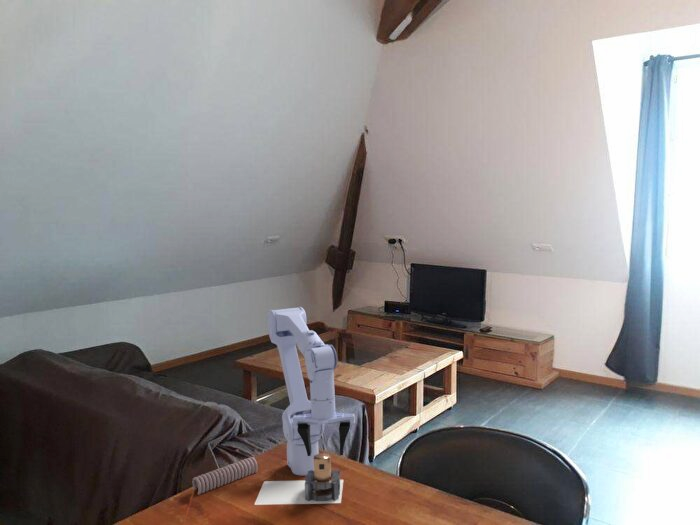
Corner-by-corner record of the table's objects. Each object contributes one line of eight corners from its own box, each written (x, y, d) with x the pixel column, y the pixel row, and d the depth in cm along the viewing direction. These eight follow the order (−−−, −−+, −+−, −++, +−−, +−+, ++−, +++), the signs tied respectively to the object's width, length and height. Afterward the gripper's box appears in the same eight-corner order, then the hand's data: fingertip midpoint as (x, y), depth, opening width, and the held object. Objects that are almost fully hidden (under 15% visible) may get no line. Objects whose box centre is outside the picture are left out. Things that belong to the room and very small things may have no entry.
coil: (198, 483, 135) (261, 459, 147) (188, 475, 138) (251, 453, 151) (198, 501, 136) (260, 476, 148) (189, 493, 139) (251, 469, 151)
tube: (315, 489, 136) (314, 453, 135) (332, 489, 135) (330, 452, 135) (314, 498, 131) (312, 460, 131) (331, 497, 131) (330, 460, 131)
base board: (254, 508, 130) (254, 504, 129) (264, 485, 142) (264, 481, 141) (341, 507, 129) (340, 502, 129) (343, 483, 141) (343, 479, 141)
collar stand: (304, 501, 130) (303, 484, 130) (308, 485, 138) (307, 469, 138) (338, 500, 130) (338, 484, 129) (340, 485, 138) (340, 469, 137)
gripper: (289, 403, 129) (292, 461, 130) (352, 401, 128) (355, 459, 129) (294, 394, 136) (297, 449, 137) (354, 392, 135) (356, 448, 136)
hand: (325, 454), depth 133 cm, fingers open, 7 cm apart
